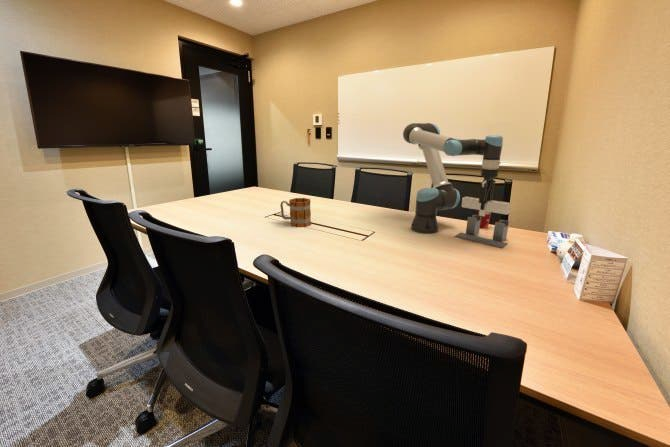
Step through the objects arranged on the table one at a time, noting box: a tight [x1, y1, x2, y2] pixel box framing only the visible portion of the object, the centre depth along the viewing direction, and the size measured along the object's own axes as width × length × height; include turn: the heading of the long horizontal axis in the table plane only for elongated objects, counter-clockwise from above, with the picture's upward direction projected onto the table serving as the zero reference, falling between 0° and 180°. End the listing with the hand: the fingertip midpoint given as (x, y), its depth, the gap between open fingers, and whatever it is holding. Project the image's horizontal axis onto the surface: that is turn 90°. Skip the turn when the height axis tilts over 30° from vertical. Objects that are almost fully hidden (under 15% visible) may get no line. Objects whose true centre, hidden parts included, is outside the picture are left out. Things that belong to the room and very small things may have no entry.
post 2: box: [492, 219, 510, 242], centre depth 161 cm, size 4×7×10 cm, turn 135°
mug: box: [280, 197, 312, 228], centre depth 189 cm, size 20×14×15 cm
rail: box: [461, 196, 512, 216], centre depth 156 cm, size 22×4×5 cm, turn 45°
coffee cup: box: [477, 210, 492, 229], centre depth 182 cm, size 8×8×15 cm
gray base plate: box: [454, 232, 508, 249], centre depth 162 cm, size 24×8×1 cm, turn 45°
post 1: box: [465, 214, 481, 236], centre depth 170 cm, size 4×7×10 cm, turn 135°
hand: (483, 214), depth 158 cm, fingers closed on rail, 4 cm apart
